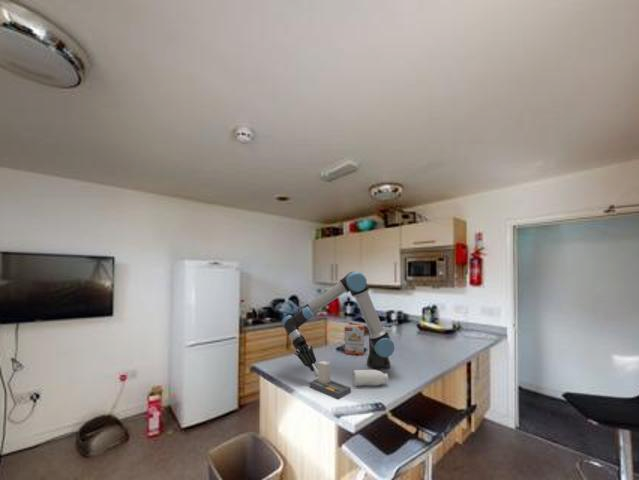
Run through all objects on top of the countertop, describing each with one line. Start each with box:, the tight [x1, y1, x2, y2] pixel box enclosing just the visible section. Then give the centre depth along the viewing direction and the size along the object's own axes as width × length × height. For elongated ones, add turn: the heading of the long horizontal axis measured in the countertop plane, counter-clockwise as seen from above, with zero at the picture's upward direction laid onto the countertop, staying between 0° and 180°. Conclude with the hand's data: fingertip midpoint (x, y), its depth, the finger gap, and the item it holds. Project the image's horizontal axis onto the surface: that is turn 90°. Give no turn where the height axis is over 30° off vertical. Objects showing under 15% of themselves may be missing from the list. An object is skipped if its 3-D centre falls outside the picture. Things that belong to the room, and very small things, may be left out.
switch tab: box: [317, 360, 331, 384], centre depth 148 cm, size 5×4×10 cm
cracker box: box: [344, 323, 365, 356], centre depth 207 cm, size 14×6×21 cm, turn 81°
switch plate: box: [309, 378, 352, 400], centre depth 145 cm, size 20×10×4 cm, turn 46°
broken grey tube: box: [352, 369, 389, 387], centre depth 151 cm, size 8×19×8 cm, turn 90°
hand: (317, 375), depth 151 cm, fingers closed
